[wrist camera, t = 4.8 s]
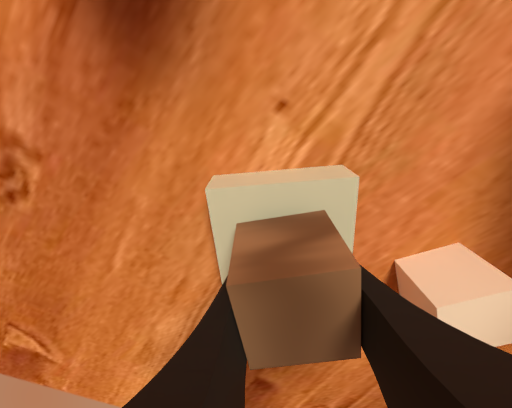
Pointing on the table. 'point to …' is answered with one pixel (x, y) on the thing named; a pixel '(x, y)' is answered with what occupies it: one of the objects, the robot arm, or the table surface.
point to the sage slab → (280, 201)
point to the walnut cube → (295, 291)
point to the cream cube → (459, 291)
